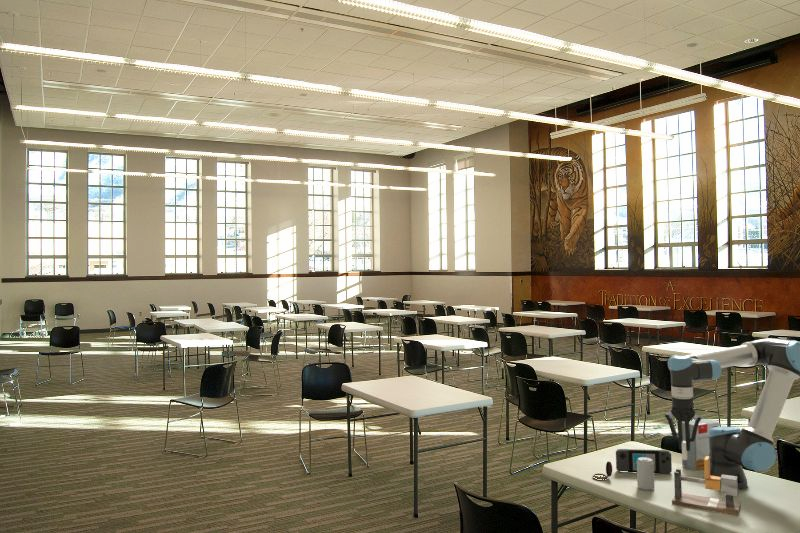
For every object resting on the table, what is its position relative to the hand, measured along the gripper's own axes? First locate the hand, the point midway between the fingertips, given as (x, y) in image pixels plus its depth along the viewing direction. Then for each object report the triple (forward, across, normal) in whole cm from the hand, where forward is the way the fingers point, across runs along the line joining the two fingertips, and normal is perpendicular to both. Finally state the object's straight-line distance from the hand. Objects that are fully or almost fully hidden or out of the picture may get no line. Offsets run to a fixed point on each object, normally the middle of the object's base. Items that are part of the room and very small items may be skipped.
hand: (685, 458), depth 230 cm
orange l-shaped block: (+10, +9, 0) cm, 13 cm away
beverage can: (+17, -16, +8) cm, 25 cm away
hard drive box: (+17, -1, +50) cm, 53 cm away
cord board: (+17, +7, 0) cm, 18 cm away
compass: (+17, -34, +10) cm, 40 cm away
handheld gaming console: (+17, -21, +28) cm, 39 cm away
